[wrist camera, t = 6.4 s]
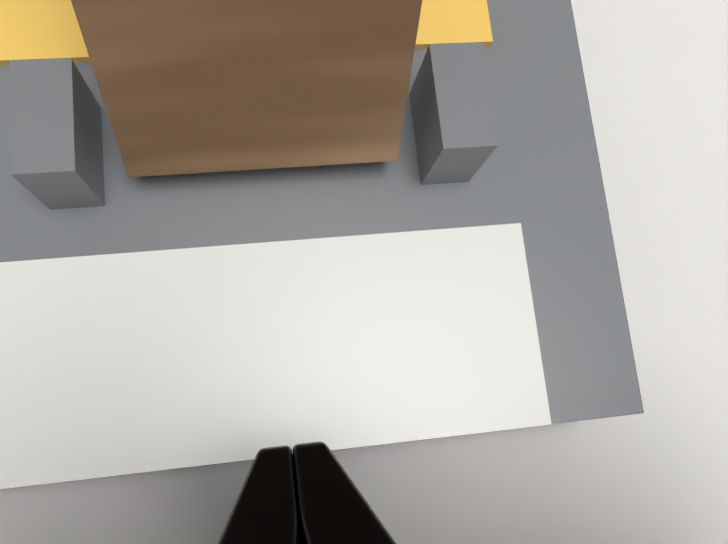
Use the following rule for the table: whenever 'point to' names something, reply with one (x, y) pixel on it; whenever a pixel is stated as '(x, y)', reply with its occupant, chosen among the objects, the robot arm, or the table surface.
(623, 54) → the table surface
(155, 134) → the lever
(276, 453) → the robot arm
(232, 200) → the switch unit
